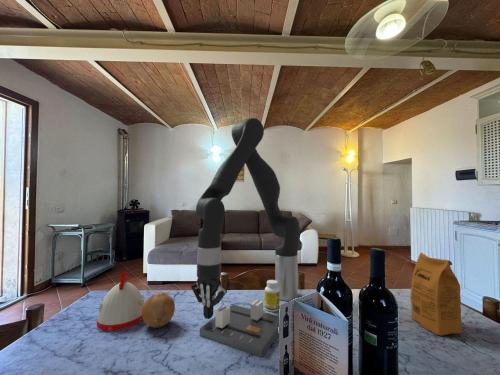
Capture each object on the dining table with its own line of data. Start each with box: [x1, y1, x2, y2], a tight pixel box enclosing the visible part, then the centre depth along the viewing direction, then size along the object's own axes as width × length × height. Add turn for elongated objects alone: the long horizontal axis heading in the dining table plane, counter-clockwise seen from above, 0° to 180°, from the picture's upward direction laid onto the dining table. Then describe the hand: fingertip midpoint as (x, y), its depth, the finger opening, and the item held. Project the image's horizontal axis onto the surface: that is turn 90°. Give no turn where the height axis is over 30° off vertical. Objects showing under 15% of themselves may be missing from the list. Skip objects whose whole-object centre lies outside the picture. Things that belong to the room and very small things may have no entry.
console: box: [199, 304, 280, 358], centre depth 71 cm, size 18×20×2 cm
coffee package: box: [410, 252, 463, 336], centre depth 74 cm, size 10×12×22 cm
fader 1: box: [214, 305, 230, 328], centre depth 69 cm, size 4×2×4 cm, turn 152°
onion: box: [142, 291, 176, 329], centre depth 73 cm, size 10×10×10 cm
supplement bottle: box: [264, 279, 280, 313], centre depth 85 cm, size 5×5×10 cm
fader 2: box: [250, 299, 264, 320], centre depth 74 cm, size 4×2×4 cm, turn 152°
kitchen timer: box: [96, 270, 145, 331], centre depth 77 cm, size 14×14×15 cm
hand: (208, 317), depth 72 cm, fingers closed
